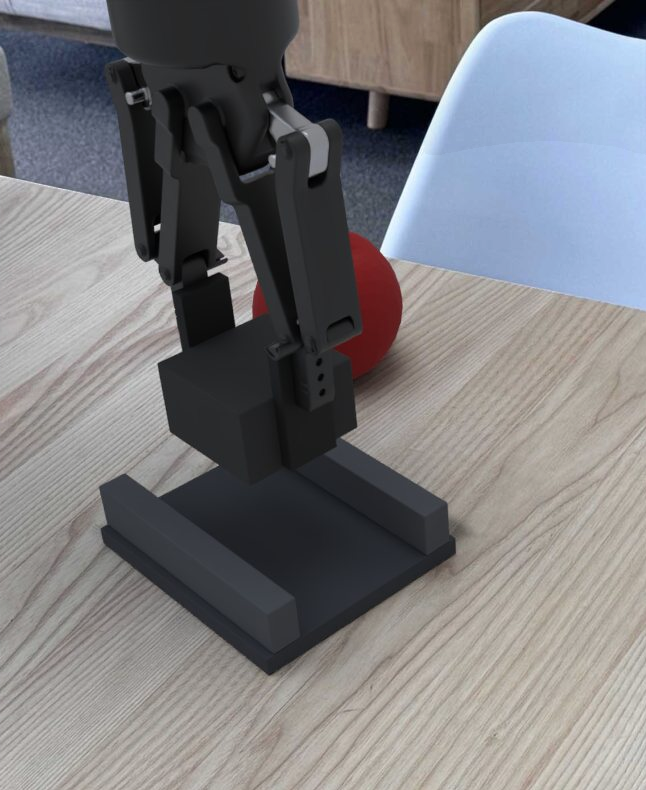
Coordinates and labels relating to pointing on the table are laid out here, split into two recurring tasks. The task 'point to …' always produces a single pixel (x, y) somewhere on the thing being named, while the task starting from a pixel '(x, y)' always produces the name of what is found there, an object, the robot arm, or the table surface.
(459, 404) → the table surface
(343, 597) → the base pad
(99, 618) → the table surface
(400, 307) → the apple
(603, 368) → the table surface
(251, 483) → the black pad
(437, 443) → the table surface
